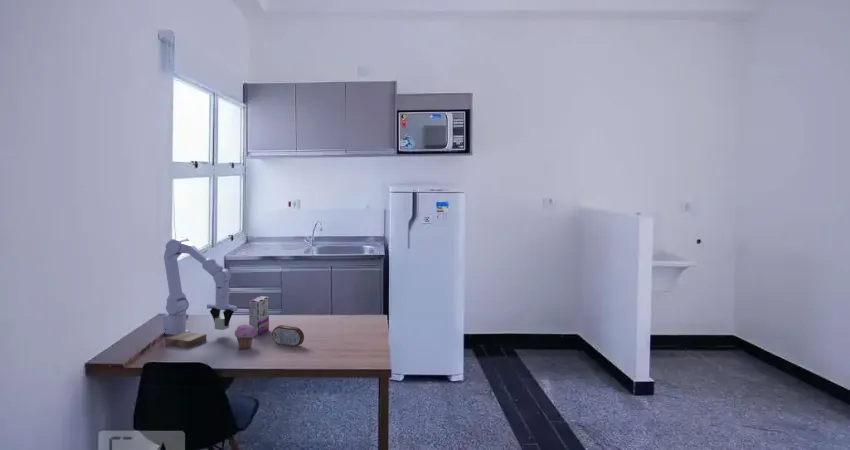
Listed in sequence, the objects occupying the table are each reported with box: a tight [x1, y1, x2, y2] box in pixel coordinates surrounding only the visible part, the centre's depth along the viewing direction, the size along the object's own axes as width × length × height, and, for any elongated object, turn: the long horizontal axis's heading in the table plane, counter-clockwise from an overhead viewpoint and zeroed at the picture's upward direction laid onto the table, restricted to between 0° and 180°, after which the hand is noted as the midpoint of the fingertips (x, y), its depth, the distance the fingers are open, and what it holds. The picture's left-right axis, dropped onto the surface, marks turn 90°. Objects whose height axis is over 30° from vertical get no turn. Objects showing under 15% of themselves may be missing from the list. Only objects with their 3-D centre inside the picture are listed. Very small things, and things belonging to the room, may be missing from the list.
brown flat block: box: [164, 331, 207, 349], centre depth 268 cm, size 12×12×3 cm
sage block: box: [214, 315, 230, 331], centre depth 280 cm, size 4×4×5 cm
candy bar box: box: [248, 295, 270, 337], centre depth 288 cm, size 11×5×16 cm, turn 168°
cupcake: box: [234, 324, 256, 350], centre depth 264 cm, size 9×9×10 cm
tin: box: [271, 324, 305, 347], centre depth 270 cm, size 15×3×8 cm, turn 71°
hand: (221, 325), depth 280 cm, fingers closed on sage block, 4 cm apart
